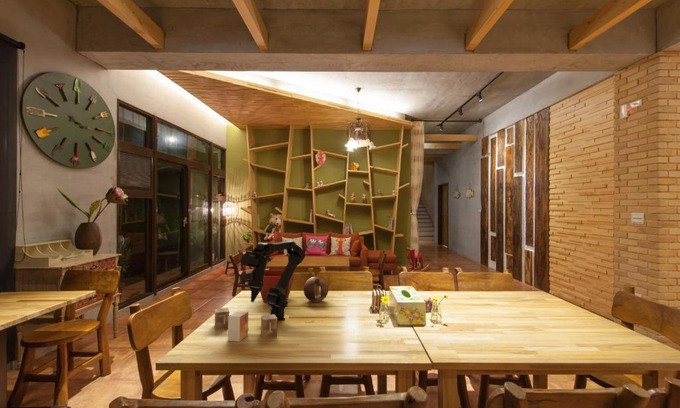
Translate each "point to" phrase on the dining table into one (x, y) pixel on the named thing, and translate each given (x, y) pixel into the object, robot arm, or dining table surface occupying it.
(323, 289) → the wooden sphere
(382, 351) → the dining table surface
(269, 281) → the plant pot
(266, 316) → the walnut block one
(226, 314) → the walnut block seven
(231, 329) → the small box
